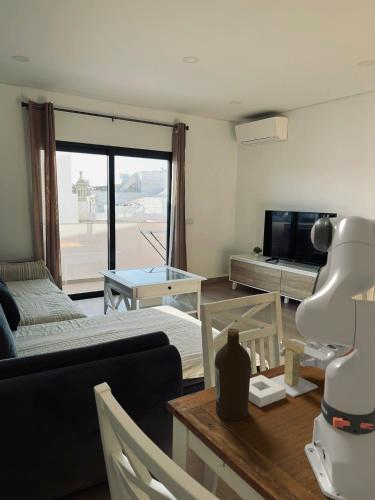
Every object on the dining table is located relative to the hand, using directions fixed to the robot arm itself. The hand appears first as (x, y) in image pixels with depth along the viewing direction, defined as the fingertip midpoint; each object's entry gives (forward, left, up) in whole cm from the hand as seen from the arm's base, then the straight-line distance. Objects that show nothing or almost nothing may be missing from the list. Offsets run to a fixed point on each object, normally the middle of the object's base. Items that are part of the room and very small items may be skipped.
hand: (290, 358), depth 121 cm
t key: (+1, -1, -9) cm, 9 cm away
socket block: (-8, +9, -10) cm, 16 cm away
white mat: (+1, -1, -10) cm, 10 cm away
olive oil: (-20, +17, -10) cm, 29 cm away
